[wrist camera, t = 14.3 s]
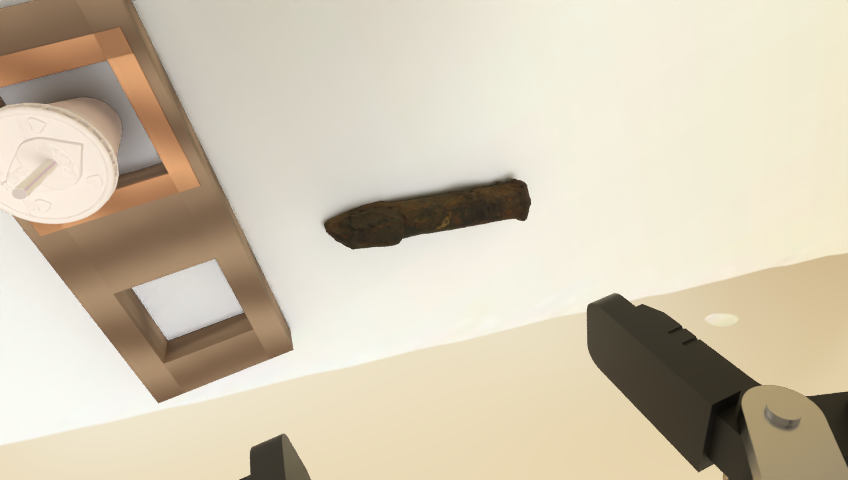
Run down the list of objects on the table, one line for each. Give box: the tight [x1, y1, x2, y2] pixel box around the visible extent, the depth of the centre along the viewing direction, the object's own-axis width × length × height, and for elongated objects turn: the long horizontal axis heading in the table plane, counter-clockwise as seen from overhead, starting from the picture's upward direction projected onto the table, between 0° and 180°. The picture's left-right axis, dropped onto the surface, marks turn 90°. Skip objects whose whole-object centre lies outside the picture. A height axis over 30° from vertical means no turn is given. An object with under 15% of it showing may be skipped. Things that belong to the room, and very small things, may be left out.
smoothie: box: [0, 97, 122, 224], centre depth 26 cm, size 6×6×14 cm
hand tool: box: [324, 179, 531, 249], centre depth 42 cm, size 19×4×5 cm, turn 89°
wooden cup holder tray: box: [0, 0, 293, 403], centre depth 35 cm, size 30×12×3 cm, turn 12°
